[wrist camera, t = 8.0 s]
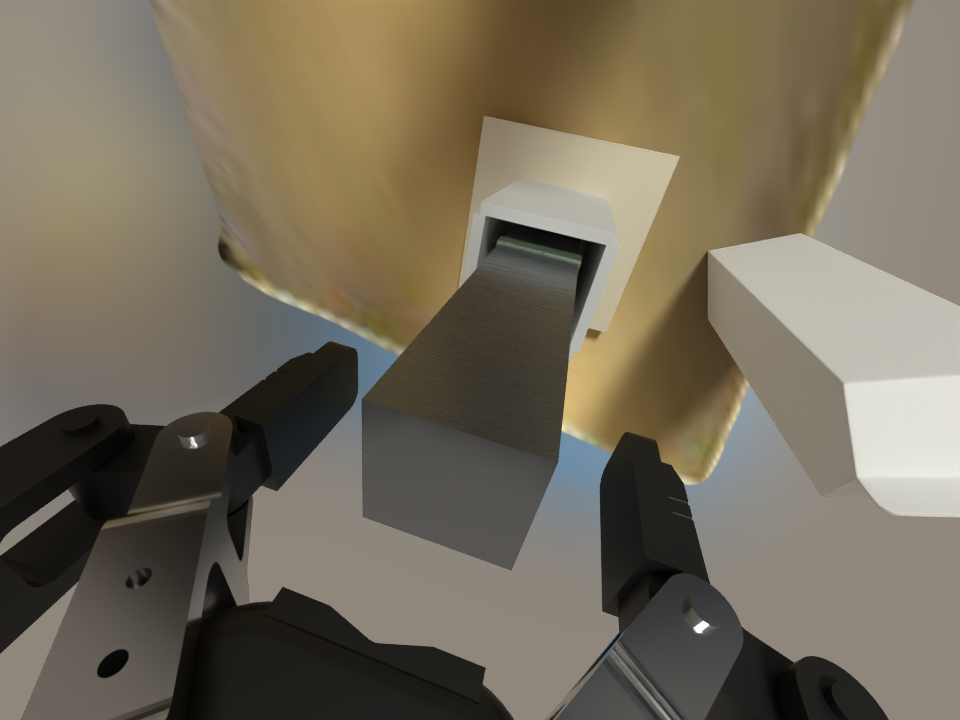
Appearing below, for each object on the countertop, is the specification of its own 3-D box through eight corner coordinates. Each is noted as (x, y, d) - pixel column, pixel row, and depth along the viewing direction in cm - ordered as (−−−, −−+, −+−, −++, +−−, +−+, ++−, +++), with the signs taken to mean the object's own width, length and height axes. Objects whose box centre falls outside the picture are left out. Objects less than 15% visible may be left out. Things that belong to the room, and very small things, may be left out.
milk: (792, 307, 29) (1124, 590, 11) (705, 318, 31) (865, 572, 13) (801, 230, 27) (1257, 438, 8) (705, 248, 29) (905, 447, 11)
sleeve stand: (488, 116, 28) (408, 100, 16) (675, 155, 26) (749, 171, 14) (462, 287, 36) (394, 365, 23) (605, 325, 34) (613, 432, 22)
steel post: (517, 218, 23) (357, 393, 7) (583, 234, 22) (565, 460, 7) (502, 286, 26) (359, 526, 10) (561, 302, 25) (511, 581, 9)
